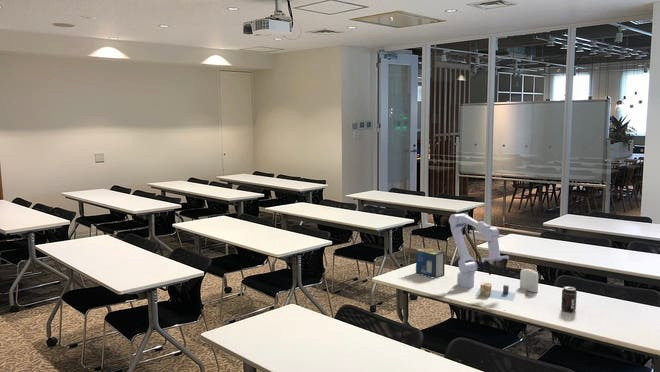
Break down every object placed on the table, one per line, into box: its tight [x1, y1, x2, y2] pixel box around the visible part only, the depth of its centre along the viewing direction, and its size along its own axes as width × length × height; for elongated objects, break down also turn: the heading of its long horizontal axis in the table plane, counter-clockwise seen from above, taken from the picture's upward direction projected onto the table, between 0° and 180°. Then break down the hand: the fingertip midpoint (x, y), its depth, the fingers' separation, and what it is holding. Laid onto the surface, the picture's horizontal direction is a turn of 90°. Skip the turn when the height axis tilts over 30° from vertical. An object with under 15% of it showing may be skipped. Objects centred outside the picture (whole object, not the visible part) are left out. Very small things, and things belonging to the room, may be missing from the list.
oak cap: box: [479, 282, 492, 298], centre depth 290 cm, size 5×5×6 cm
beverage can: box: [560, 286, 578, 313], centre depth 268 cm, size 7×7×12 cm
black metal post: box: [502, 284, 510, 295], centre depth 292 cm, size 3×3×5 cm
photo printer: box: [519, 268, 539, 293], centre depth 301 cm, size 10×4×12 cm, turn 39°
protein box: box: [415, 247, 446, 278], centre depth 334 cm, size 10×15×16 cm
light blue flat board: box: [474, 287, 517, 302], centre depth 291 cm, size 20×14×1 cm
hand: (497, 273), depth 287 cm, fingers open, 7 cm apart
